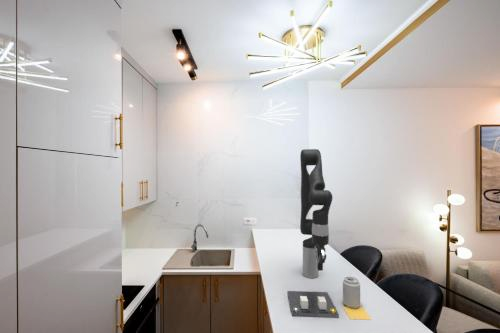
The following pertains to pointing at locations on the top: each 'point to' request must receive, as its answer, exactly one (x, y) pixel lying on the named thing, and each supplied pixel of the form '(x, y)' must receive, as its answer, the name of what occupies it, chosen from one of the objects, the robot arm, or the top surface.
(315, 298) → the panel
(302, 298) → the block
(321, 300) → the block
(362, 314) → the pad
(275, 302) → the top surface
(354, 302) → the can
